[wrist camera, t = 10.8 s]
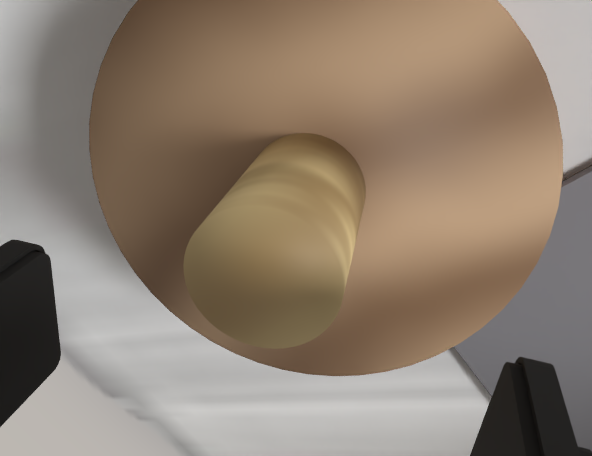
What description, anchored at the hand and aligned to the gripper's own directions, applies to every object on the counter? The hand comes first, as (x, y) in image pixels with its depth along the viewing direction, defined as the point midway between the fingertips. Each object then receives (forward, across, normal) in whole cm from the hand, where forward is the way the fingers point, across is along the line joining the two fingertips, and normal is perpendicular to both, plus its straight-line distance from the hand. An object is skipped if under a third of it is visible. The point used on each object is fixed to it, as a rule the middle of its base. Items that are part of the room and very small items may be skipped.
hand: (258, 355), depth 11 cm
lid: (+10, +1, 0) cm, 10 cm away
